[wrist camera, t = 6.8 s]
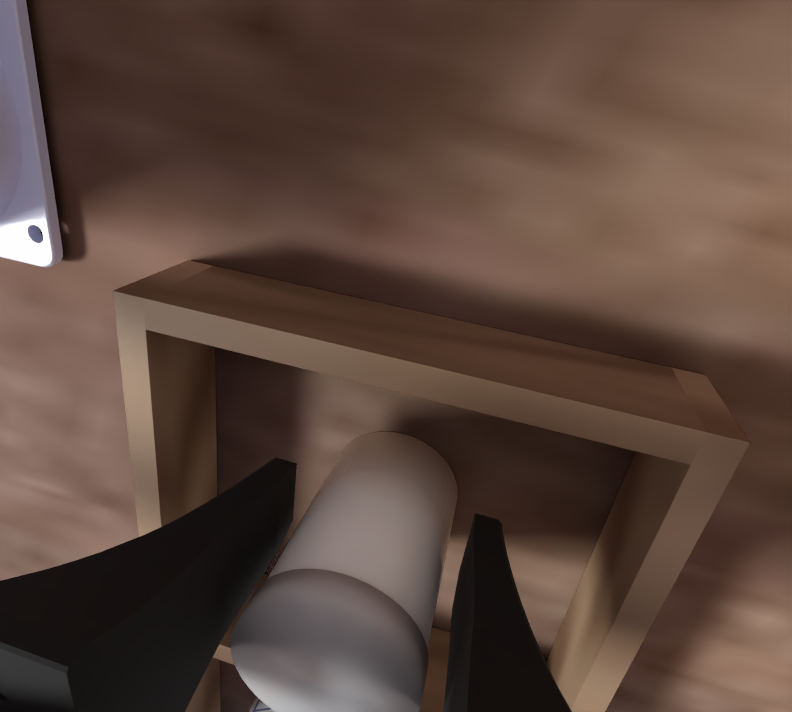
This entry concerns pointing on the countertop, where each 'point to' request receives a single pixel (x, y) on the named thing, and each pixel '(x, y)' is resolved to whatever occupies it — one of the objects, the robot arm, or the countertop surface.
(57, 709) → the robot arm
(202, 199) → the countertop surface
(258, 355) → the caddy
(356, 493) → the jar
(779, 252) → the countertop surface
